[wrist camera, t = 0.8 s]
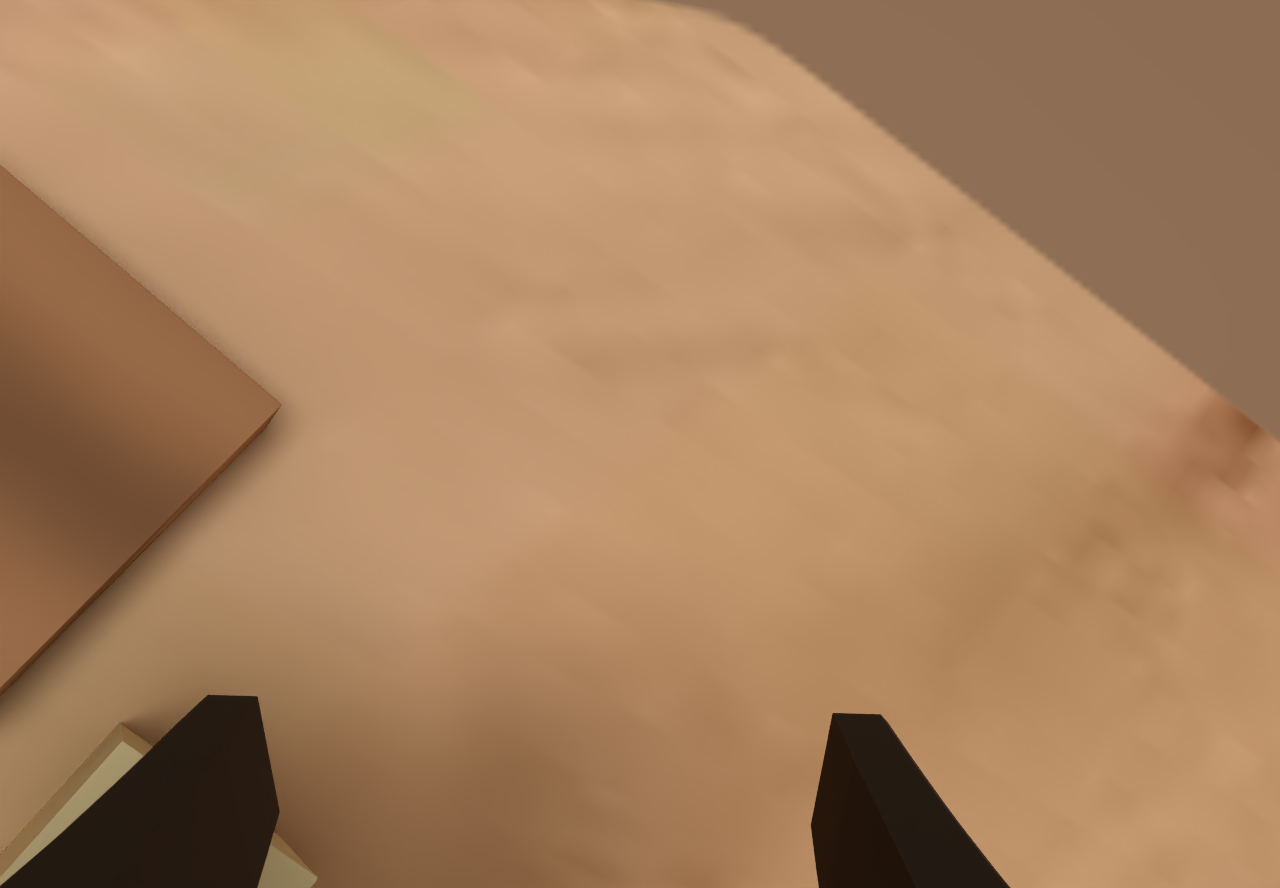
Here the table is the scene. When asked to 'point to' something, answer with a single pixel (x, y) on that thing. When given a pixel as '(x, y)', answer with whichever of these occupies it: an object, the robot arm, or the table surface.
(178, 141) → the table surface
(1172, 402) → the table surface
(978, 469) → the table surface
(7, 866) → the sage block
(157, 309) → the walnut box
